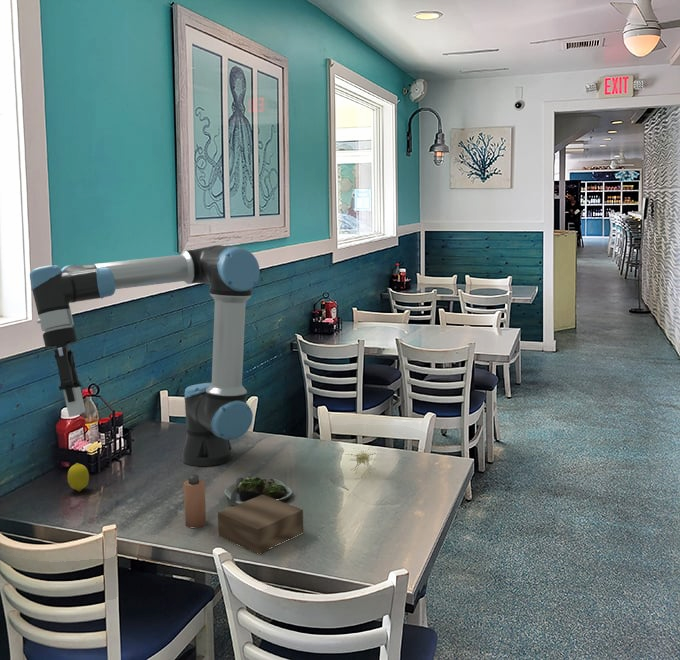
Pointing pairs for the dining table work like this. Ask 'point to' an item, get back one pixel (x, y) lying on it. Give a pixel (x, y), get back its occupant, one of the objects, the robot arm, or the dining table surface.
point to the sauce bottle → (194, 501)
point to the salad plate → (257, 490)
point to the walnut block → (260, 523)
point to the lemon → (78, 477)
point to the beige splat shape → (362, 458)
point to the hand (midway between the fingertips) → (77, 414)
